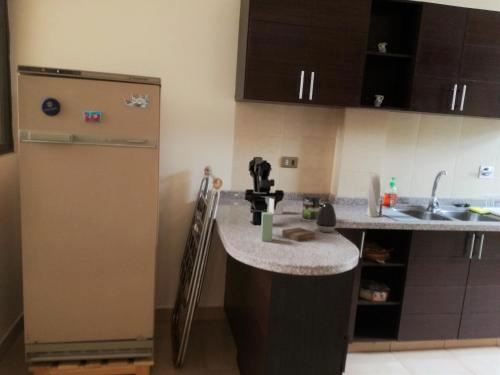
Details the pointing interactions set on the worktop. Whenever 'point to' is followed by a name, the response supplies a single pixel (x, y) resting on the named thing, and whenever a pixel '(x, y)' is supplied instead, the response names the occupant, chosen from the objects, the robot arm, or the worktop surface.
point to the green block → (266, 226)
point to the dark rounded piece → (326, 218)
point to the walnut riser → (298, 234)
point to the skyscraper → (374, 197)
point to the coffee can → (310, 207)
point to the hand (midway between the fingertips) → (265, 209)
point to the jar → (278, 207)
